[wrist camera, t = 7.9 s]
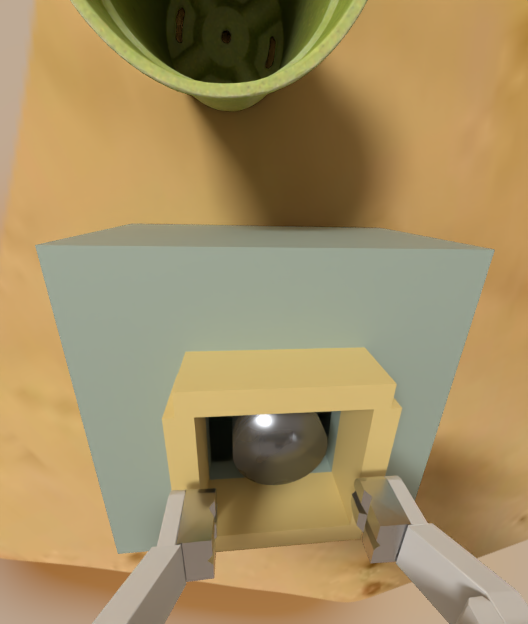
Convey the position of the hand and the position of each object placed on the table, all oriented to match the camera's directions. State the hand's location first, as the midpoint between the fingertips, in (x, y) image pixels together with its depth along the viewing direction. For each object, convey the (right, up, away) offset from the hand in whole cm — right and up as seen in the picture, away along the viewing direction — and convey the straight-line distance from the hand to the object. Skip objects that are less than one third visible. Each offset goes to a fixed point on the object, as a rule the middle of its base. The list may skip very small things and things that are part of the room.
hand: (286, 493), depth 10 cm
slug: (-1, +3, +7) cm, 8 cm away
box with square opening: (-1, +4, +11) cm, 12 cm away
